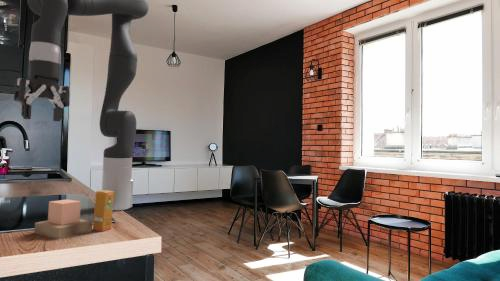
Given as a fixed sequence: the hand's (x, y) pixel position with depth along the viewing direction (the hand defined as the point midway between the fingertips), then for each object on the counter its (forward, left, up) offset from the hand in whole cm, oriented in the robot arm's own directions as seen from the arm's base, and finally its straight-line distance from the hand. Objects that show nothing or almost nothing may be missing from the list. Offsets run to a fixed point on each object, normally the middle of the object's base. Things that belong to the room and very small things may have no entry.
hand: (42, 120), depth 96 cm
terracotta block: (+3, +15, -25) cm, 30 cm away
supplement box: (-4, +21, -28) cm, 35 cm away
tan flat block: (+3, +15, -28) cm, 32 cm away
